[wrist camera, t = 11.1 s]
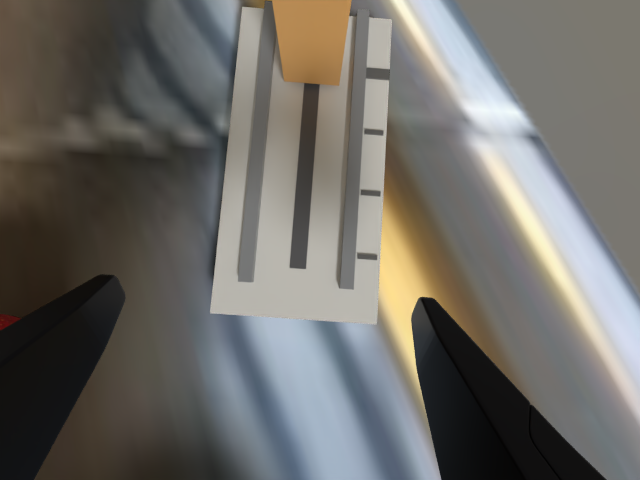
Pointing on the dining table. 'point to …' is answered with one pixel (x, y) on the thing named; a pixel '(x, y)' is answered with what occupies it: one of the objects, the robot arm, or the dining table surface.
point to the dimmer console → (304, 180)
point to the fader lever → (312, 39)
